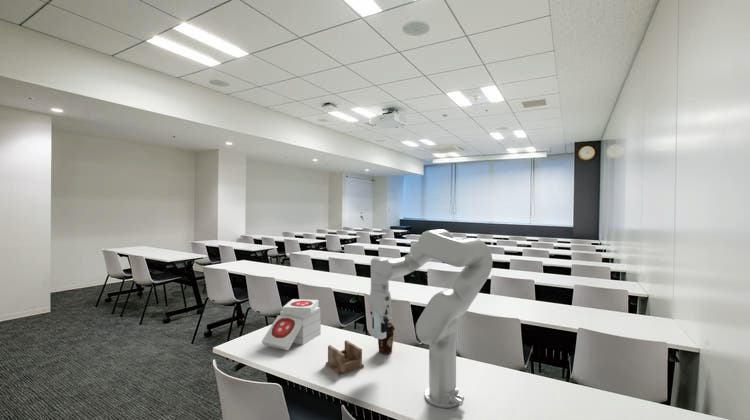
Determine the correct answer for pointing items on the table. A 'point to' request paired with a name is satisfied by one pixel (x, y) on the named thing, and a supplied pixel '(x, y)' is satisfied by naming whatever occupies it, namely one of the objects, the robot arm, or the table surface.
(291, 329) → the pizza box stack
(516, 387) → the table surface
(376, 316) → the roll
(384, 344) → the coffee cup
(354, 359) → the holder
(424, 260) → the robot arm
